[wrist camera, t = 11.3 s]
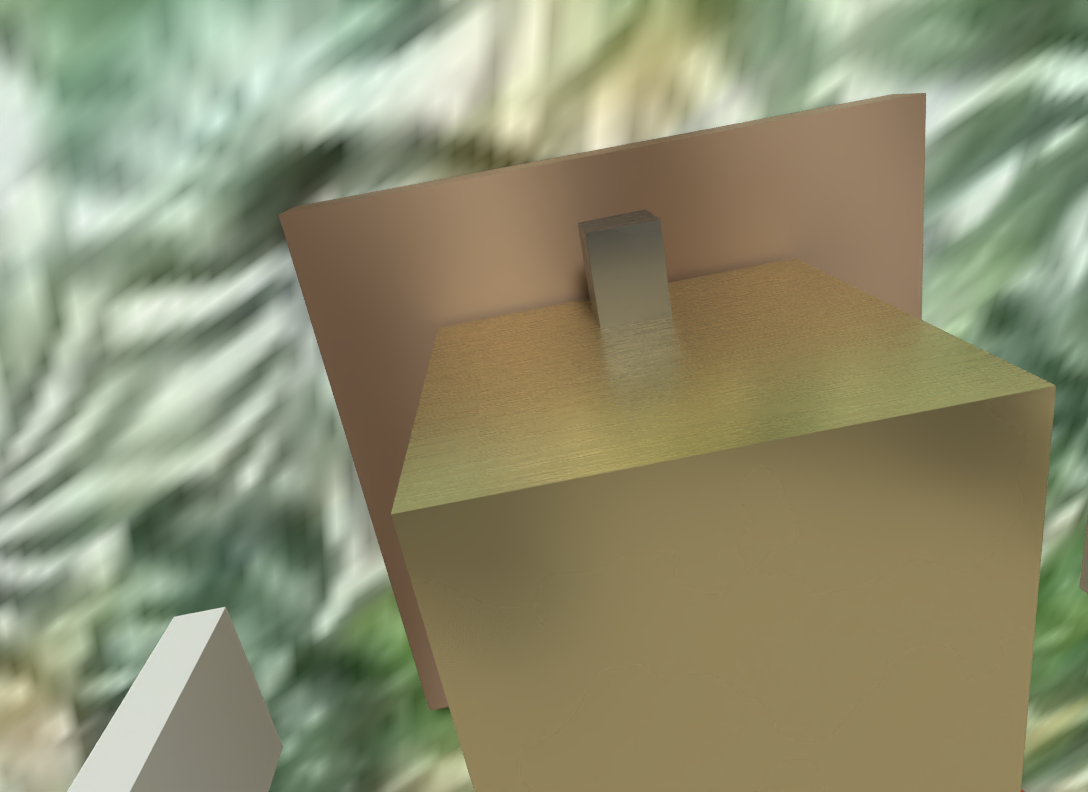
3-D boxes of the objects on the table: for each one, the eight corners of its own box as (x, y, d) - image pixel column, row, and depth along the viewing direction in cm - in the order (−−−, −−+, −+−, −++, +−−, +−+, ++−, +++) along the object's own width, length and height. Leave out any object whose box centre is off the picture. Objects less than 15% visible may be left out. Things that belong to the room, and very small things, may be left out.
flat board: (433, 674, 19) (406, 923, 13) (295, 206, 14) (163, 270, 9) (890, 590, 19) (1066, 802, 13) (892, 94, 14) (1158, 83, 9)
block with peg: (417, 246, 13) (347, 371, 7) (791, 172, 13) (1068, 230, 7) (522, 672, 17) (541, 1011, 11) (814, 616, 17) (1009, 924, 11)
